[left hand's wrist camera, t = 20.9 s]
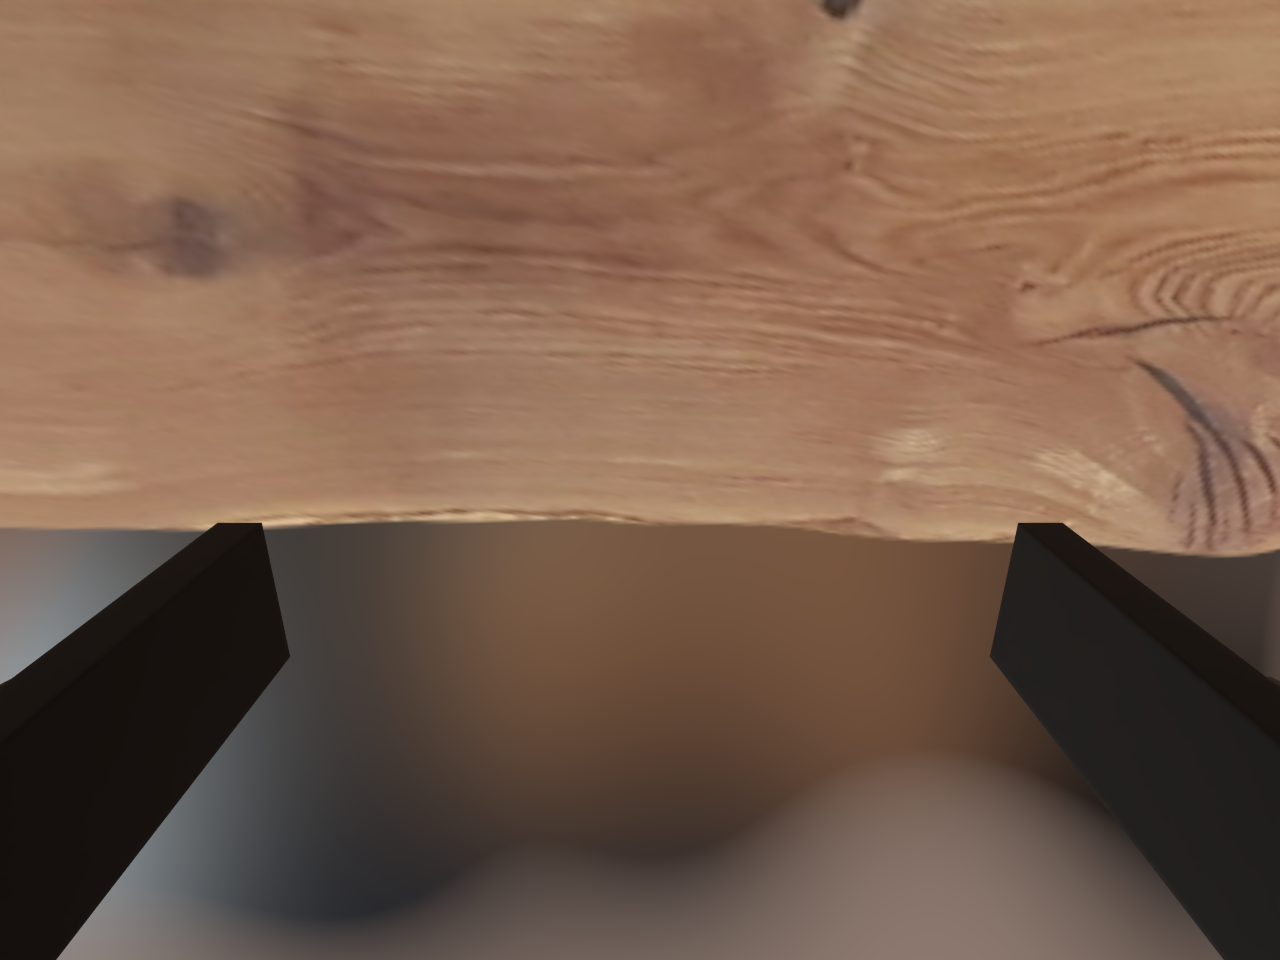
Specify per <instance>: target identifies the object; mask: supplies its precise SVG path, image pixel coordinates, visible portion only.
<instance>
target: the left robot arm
mask: <svg viewBox="0 0 1280 960" xmlns="http://www.w3.org/2000/svg"><path fill="white" fill-rule="evenodd" d="M289 657H290V654H289V649H288V645H287V640H286V635H285V630H284V626H283V621H282V616H281V612H280V607H279V602H278V597H277V593H276V588H275V583H274V578H273V574H272V569H271V564H270V560H269V555H268V550H267V545H266V541H265V536H264V531H263V526H262V523H217V524H215V525H214V526H213V527H211V528H210V529H209V530H208V531H206V532H205V533H204V534H202V535H201V536H200V537H198V538H197V539H196V540H194V541H193V542H192V543H190V544H189V545H188V546H186V547H185V548H184V549H182V550H181V551H180V552H178V553H177V554H176V555H175V556H173V557H172V558H171V559H169V560H168V561H167V562H165V563H164V564H163V565H161V566H160V567H159V568H157V569H156V570H155V571H153V572H152V573H151V574H149V575H148V576H147V577H145V578H144V579H143V580H141V581H140V582H139V583H137V584H136V585H135V586H134V587H132V588H131V589H130V590H128V591H127V592H126V593H124V594H123V595H122V596H120V597H119V598H118V599H116V600H115V601H114V602H112V603H111V604H110V605H108V606H107V607H106V608H104V609H103V610H102V611H100V612H99V613H98V614H96V615H95V616H94V617H93V618H91V619H90V620H89V621H87V622H86V623H85V624H83V625H82V626H81V627H79V628H78V629H77V630H75V631H74V632H73V633H71V634H70V635H69V636H67V637H66V638H65V639H63V640H62V641H61V642H59V643H58V644H57V645H56V646H54V647H53V648H52V649H50V650H49V651H48V652H46V653H45V654H44V655H42V656H41V657H40V658H38V659H37V660H36V661H34V662H33V663H32V664H30V665H29V666H28V667H26V668H25V669H24V670H22V671H21V672H20V673H19V674H17V675H16V676H15V677H13V678H12V679H10V680H8V681H6V682H4V683H2V684H0V960H56V959H57V958H58V957H59V955H60V954H61V953H62V951H63V950H64V949H65V948H66V946H67V945H68V944H69V942H70V941H71V940H72V939H73V937H74V936H75V935H76V933H77V932H78V931H79V929H80V928H81V927H82V926H83V924H84V923H85V922H86V920H87V919H88V918H89V917H90V915H91V914H92V913H93V911H94V910H95V909H96V907H97V906H98V905H99V904H100V902H101V901H102V900H103V898H104V897H105V896H106V894H107V893H108V892H109V891H110V889H111V888H112V887H113V885H114V884H115V883H116V882H117V880H118V879H119V878H120V876H121V875H122V874H123V872H124V871H125V870H126V868H127V867H128V866H129V865H130V863H131V862H132V861H133V860H134V858H135V857H136V856H137V854H138V853H139V852H140V850H141V849H142V848H143V847H144V845H145V844H146V843H147V841H148V840H149V839H150V837H151V836H152V835H153V834H154V832H155V831H156V830H157V828H158V827H159V826H160V825H161V823H162V822H163V821H164V819H165V818H166V817H167V815H168V814H169V813H170V812H171V810H172V809H173V808H174V806H175V805H176V804H177V803H178V801H179V800H180V799H181V797H182V796H183V795H184V793H185V792H186V791H187V790H188V788H189V787H190V786H191V784H192V783H193V782H194V780H195V779H196V778H197V777H198V775H199V774H200V773H201V771H202V770H203V769H204V768H205V766H206V765H207V764H208V762H209V761H210V760H211V758H212V757H213V756H214V755H215V753H216V752H217V751H218V749H219V748H220V747H221V746H222V744H223V743H224V742H225V740H226V739H227V738H228V736H229V735H230V734H231V733H232V731H233V730H234V729H235V727H236V726H237V725H238V723H239V722H240V721H241V720H242V718H243V717H244V716H245V714H246V713H247V712H248V711H249V709H250V708H251V707H252V705H253V704H254V703H255V701H256V700H257V699H258V698H259V696H260V695H261V694H262V692H263V691H264V690H265V689H266V687H267V686H268V685H269V683H270V682H271V681H272V679H273V678H274V677H275V676H276V674H277V673H278V672H279V670H280V669H281V668H282V666H283V665H284V664H285V663H286V661H287V660H288V659H289ZM990 657H991V659H992V660H993V661H994V663H995V664H996V665H997V666H998V668H999V669H1000V670H1001V672H1002V673H1003V674H1004V676H1005V677H1006V678H1007V679H1008V681H1009V682H1010V683H1011V685H1012V686H1013V687H1014V689H1015V690H1016V691H1017V692H1018V694H1019V695H1020V696H1021V698H1022V699H1023V700H1024V701H1025V703H1026V704H1027V705H1028V707H1029V708H1030V709H1031V711H1032V712H1033V713H1034V714H1035V716H1036V717H1037V718H1038V720H1039V721H1040V722H1041V723H1042V725H1043V726H1044V727H1045V729H1046V730H1047V731H1048V733H1049V734H1050V735H1051V736H1052V738H1053V739H1054V740H1055V742H1056V743H1057V744H1058V746H1059V747H1060V748H1061V749H1062V751H1063V752H1064V753H1065V754H1066V756H1067V757H1068V758H1069V760H1070V761H1071V762H1072V764H1073V765H1074V766H1075V768H1076V769H1077V770H1078V771H1079V773H1080V774H1081V775H1082V777H1083V778H1084V779H1085V780H1086V782H1087V783H1088V784H1089V786H1090V787H1091V788H1092V790H1093V791H1094V792H1095V793H1096V795H1097V796H1098V797H1099V799H1100V800H1101V801H1102V802H1103V804H1104V805H1105V806H1106V808H1107V809H1108V810H1109V812H1110V813H1111V814H1112V815H1113V817H1114V818H1115V819H1116V821H1117V822H1118V823H1119V825H1120V826H1121V827H1122V828H1123V830H1124V831H1125V832H1126V834H1127V835H1128V836H1129V837H1130V839H1131V840H1132V841H1133V843H1134V844H1135V845H1136V846H1137V848H1138V849H1139V850H1140V852H1141V853H1142V854H1143V856H1144V857H1145V858H1146V860H1147V861H1148V862H1149V863H1150V865H1151V866H1152V867H1153V869H1154V870H1155V871H1156V872H1157V874H1158V875H1159V876H1160V878H1161V879H1162V880H1163V882H1164V883H1165V884H1166V885H1167V887H1168V888H1169V889H1170V891H1171V892H1172V893H1173V894H1174V896H1175V897H1176V898H1177V900H1178V901H1179V902H1180V904H1181V905H1182V906H1183V907H1184V909H1185V910H1186V911H1187V913H1188V914H1189V915H1190V917H1191V918H1192V919H1193V920H1194V922H1195V923H1196V924H1197V925H1198V927H1199V928H1200V929H1201V931H1202V932H1203V933H1204V935H1205V936H1206V937H1207V938H1208V940H1209V941H1210V942H1211V944H1212V945H1213V946H1214V948H1215V949H1216V950H1217V951H1218V953H1219V954H1220V955H1221V957H1222V958H1223V959H1224V960H1280V681H1278V680H1276V679H1274V678H1272V677H1265V676H1264V675H1263V674H1261V673H1260V672H1259V671H1258V670H1256V669H1255V668H1254V667H1252V666H1251V665H1250V664H1248V663H1247V662H1246V661H1244V660H1243V659H1242V658H1240V657H1239V656H1238V655H1236V654H1235V653H1234V652H1232V651H1231V650H1230V649H1228V648H1227V647H1226V646H1224V645H1223V644H1222V643H1221V642H1219V641H1218V640H1217V639H1215V638H1214V637H1213V636H1211V635H1210V634H1209V633H1207V632H1206V631H1205V630H1203V629H1202V628H1201V627H1199V626H1198V625H1197V624H1195V623H1194V622H1193V621H1191V620H1190V619H1189V618H1187V617H1186V616H1185V615H1184V614H1182V613H1181V612H1180V611H1178V610H1177V609H1176V608H1174V607H1173V606H1172V605H1170V604H1169V603H1168V602H1166V601H1165V600H1164V599H1162V598H1161V597H1160V596H1158V595H1157V594H1156V593H1154V592H1153V591H1152V590H1150V589H1149V588H1148V587H1146V586H1145V585H1144V584H1143V583H1141V582H1140V581H1138V580H1137V579H1136V578H1135V577H1133V576H1132V575H1131V574H1129V573H1128V572H1127V571H1125V570H1124V569H1123V568H1121V567H1120V566H1119V565H1117V564H1116V563H1115V562H1113V561H1112V560H1111V559H1109V558H1108V557H1107V556H1106V555H1104V554H1103V553H1102V552H1100V551H1099V550H1098V549H1096V548H1095V547H1094V546H1092V545H1091V544H1090V543H1088V542H1087V541H1086V540H1084V539H1083V538H1082V537H1080V536H1079V535H1078V534H1076V533H1075V532H1074V531H1072V530H1071V529H1070V528H1068V527H1067V526H1066V525H1065V524H1063V523H1018V526H1017V531H1016V536H1015V541H1014V545H1013V550H1012V555H1011V559H1010V564H1009V569H1008V574H1007V578H1006V583H1005V588H1004V593H1003V597H1002V602H1001V607H1000V611H999V616H998V621H997V626H996V631H995V635H994V640H993V645H992V649H991V654H990Z"/></svg>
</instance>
